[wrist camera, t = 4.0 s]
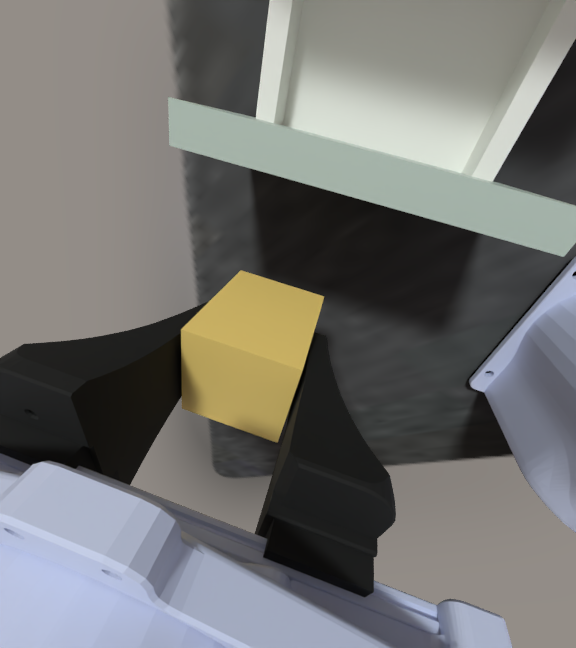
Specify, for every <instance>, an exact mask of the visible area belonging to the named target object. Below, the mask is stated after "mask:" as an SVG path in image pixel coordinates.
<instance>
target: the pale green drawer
mask: <svg viewBox="0 0 576 648" xmlns="http://www.w3.org/2000/svg"><path fill="white" fill-rule="evenodd" d="M575 39H576V0H270V3H269V11H268V19H267V28H266V36H265V45H264V53H263V61H262V70H261V78H260V86H259V95H258V103H257V112H256V118H255V117H251V116H247V115H243V114H238V113H234V112H230V111H226V110H221V109H217V108H213V107H209V106H204V105H200V104H196V103H192V102H187V101H183V100H179V99H175V98H170V97H168V109H169V144H170V146H173V147H176V148H180V149H183V150H187V151H190V152H194V153H198V154H201V155H205V156H208V157H212V158H215V159H219V160H222V161H226V162H229V163H233V164H237V165H240V166H244V167H247V168H251V169H254V170H258V171H261V172H265V173H268V174H272V175H276V176H279V177H283V178H286V179H290V180H293V181H297V182H300V183H304V184H307V185H311V186H315V187H318V188H322V189H325V190H329V191H332V192H336V193H339V194H343V195H346V196H350V197H354V198H357V199H361V200H364V201H368V202H371V203H375V204H378V205H382V206H385V207H389V208H393V209H396V210H400V211H403V212H407V213H410V214H414V215H417V216H421V217H424V218H428V219H432V220H435V221H439V222H442V223H446V224H449V225H453V226H456V227H460V228H463V229H467V230H471V231H474V232H478V233H481V234H485V235H488V236H492V237H495V238H499V239H502V240H506V241H510V242H513V243H517V244H520V245H524V246H527V247H531V248H534V249H538V250H541V251H545V252H549V253H552V254H556V255H559V256H563V257H564V256H565V255H566V253H567V252H568V251H569V250H570V249H571V247H572V246H573V245H574V244H575V243H576V206H575V205H572V204H568V203H565V202H562V201H558V200H555V199H551V198H548V197H545V196H541V195H538V194H535V193H531V192H528V191H524V190H521V189H518V188H514V187H511V186H508V185H504V184H501V183H497V182H494V181H493V180H494V178H495V176H496V175H497V173H498V171H499V169H500V168H501V166H502V164H503V163H504V161H505V159H506V157H507V156H508V154H509V152H510V150H511V149H512V147H513V145H514V144H515V142H516V140H517V138H518V137H519V135H520V133H521V132H522V130H523V128H524V126H525V125H526V123H527V121H528V120H529V118H530V116H531V114H532V113H533V111H534V109H535V108H536V106H537V104H538V102H539V101H540V99H541V97H542V96H543V94H544V92H545V90H546V89H547V87H548V85H549V83H550V82H551V80H552V78H553V77H554V75H555V73H556V71H557V70H558V68H559V66H560V65H561V63H562V61H563V59H564V58H565V56H566V54H567V53H568V51H569V49H570V47H571V46H572V44H573V42H574V41H575Z"/></svg>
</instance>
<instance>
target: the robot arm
mask: <svg viewBox="0 0 576 648" xmlns="http://www.w3.org/2000/svg"><path fill="white" fill-rule="evenodd" d="M575 271H576V257H575V258H574V259H573V260H572V261H571V262H570V263H569V264H568V266H567V267H566V268H565V269H564V270H563V271H562V272H561V274H560V275H559V276H558V277H557V278H556V279H555V281H554V282H553V283H552V284H551V285H550V286H549V288H548V289H547V290H546V291H545V292H544V293H543V295H542V296H541V297H540V298H539V299H538V300H537V302H536V303H535V304H534V305H533V306H532V307H531V308H530V310H529V311H528V312H527V313H526V314H525V315H524V317H523V318H522V319H521V320H520V321H519V322H518V324H517V325H516V326H515V327H514V328H513V329H512V331H511V332H510V333H509V334H508V335H507V336H506V337H505V339H504V340H503V341H502V342H501V343H500V344H499V346H498V347H497V348H496V349H495V350H494V351H493V353H492V354H491V355H490V356H489V357H488V358H487V360H486V361H485V362H484V363H483V364H482V365H481V367H480V368H479V369H478V370H477V371H476V372H475V373H474V375H473V376H472V377H471V378H470V380H469V384H470V386H471V387H472V388H473V389H475V390H478V391H481V392H484V393H485V396H486V398H487V400H488V402H489V404H490V406H491V408H492V410H493V413H494V415H495V417H496V419H497V421H498V423H499V425H500V428H501V430H502V432H503V434H504V436H505V438H506V440H507V442H508V445H509V447H510V449H511V451H512V453H513V455H514V457H515V459H516V462H517V464H518V466H519V468H520V470H521V472H522V473H523V475H524V477H525V479H526V480H527V482H528V483H529V485H530V486H531V488H532V489H533V490H534V491H535V493H536V494H537V495H538V497H540V499H541V500H542V501H543V502H544V503H545V505H546V506H547V507H548V508H549V509H550V510H551V511H552V512H553V513H554V514H555V515H556V516H557V517H558V518H559V519H560V520H561V521H562V522H563V523H564V524H566V525H567V526H568V527H569V528H570V529H572V530H573V531H574V532H576V276H572V275H573V273H574V272H575ZM207 303H208V302H206V303H204V304H202V305H199V306H197V307H195V308H193V309H190V310H188V311H185V312H183V313H181V314H178V315H175V316H173V317H170V318H167V319H164V320H162V321H159V322H156V323H153V324H150V325H147V326H143V327H140V328H136V329H132V330H129V331H124V332H119V333H114V334H109V335H104V336H99V337H93V338H86V339H79V340H70V341H61V342H47V343H33V344H23V345H22V346H20V347H18V348H16V349H15V350H13V351H11V352H10V353H8V354H6V355H5V356H3V357H1V358H0V648H512V644H511V641H510V637H509V634H508V630H507V627H506V623H505V620H504V619H503V618H502V617H501V616H500V615H497V614H495V613H492V612H490V611H487V610H484V609H481V608H479V607H477V606H474V605H471V604H469V603H466V602H464V601H460V600H455V599H447V600H444V601H442V602H440V603H439V604H438V605H435V604H433V603H430V602H428V601H425V600H422V599H420V598H417V597H415V596H412V595H410V594H407V593H405V592H402V591H400V590H397V589H394V588H391V587H389V586H387V585H384V584H381V583H379V582H376V581H374V565H373V564H374V562H373V561H374V559H373V557H376V556H377V538H378V537H379V536H381V535H382V534H383V533H384V532H385V531H386V530H387V529H388V528H389V527H391V526H392V524H393V523H394V521H395V516H396V512H395V500H394V494H393V489H392V484H391V479H390V475H389V474H388V472H387V471H386V470H385V468H384V467H383V466H382V464H381V463H380V462H379V460H378V459H377V458H376V456H375V455H374V454H373V452H372V451H371V450H370V448H369V447H368V445H367V444H366V442H365V441H364V439H363V437H362V436H361V434H360V432H359V430H358V429H357V427H356V425H355V423H354V422H353V420H352V418H351V416H350V414H349V412H348V410H347V408H346V406H345V404H344V401H343V399H342V397H341V394H340V392H339V389H338V386H337V383H336V380H335V377H334V374H333V370H332V366H331V362H330V358H329V352H328V345H327V338H326V336H324V335H321V334H318V333H315V332H314V333H313V337H312V340H311V344H310V347H309V350H308V354H307V357H306V361H305V364H304V368H303V371H302V374H301V377H300V380H299V382H298V385H297V388H296V391H295V394H294V397H293V400H292V403H291V407H290V412H289V417H288V422H287V427H286V431H285V435H284V439H283V442H282V446H281V449H280V452H279V456H278V459H277V462H276V466H275V469H274V472H273V476H272V479H271V482H270V485H269V489H268V492H267V495H266V499H265V502H264V505H263V508H262V512H261V515H260V518H259V522H258V525H257V528H256V531H255V534H253V533H251V532H248V531H246V530H243V529H240V528H238V527H235V526H233V525H230V524H228V523H225V522H223V521H220V520H217V519H215V518H212V517H210V516H207V515H204V514H202V513H199V512H197V511H194V510H191V509H189V508H187V507H184V506H182V505H179V504H176V503H174V502H171V501H169V500H166V499H163V498H161V497H159V496H156V495H153V494H151V493H148V492H146V491H143V490H140V489H138V488H135V487H133V486H130V484H131V482H132V480H133V478H134V476H135V474H136V473H137V471H138V469H139V467H140V465H141V463H142V461H143V460H144V458H145V456H146V454H147V453H148V451H149V449H150V447H151V445H152V443H153V442H154V440H155V438H156V437H157V435H158V433H159V432H160V430H161V428H162V427H163V425H164V423H165V422H166V420H167V418H168V416H169V415H170V413H171V412H172V410H173V409H174V407H175V405H176V404H177V402H178V401H179V399H180V398H181V396H182V373H181V329H182V328H183V327H184V326H185V325H186V324H187V323H188V322H189V321H190V320H191V319H192V318H193V317H194V316H195V315H196V314H197V313H198V312H199V311H200V310H201V309H202V308H203V307H204V306H205V305H206V304H207ZM487 371H491V372H489V373H485V372H487Z"/></svg>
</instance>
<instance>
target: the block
mask: <svg viewBox="0 0 576 648" xmlns="http://www.w3.org/2000/svg"><path fill="white" fill-rule="evenodd" d="M323 299H324V296H321V295H318V294H315V293H311V292H308V291H305V290H302V289H299V288H296V287H292V286H289V285H286V284H283V283H280V282H276V281H273V280H270V279H267V278H264V277H260V276H257V275H254V274H251V273H248V272H245V271H240V272H239V273H238V274H237V275H236V276H235V277H234V278H233V279H232V280H231V281H230V282H229V283H228V284H227V285H226V286H225V287H224V288H223V289H222V290H221V291H219V292H218V293H217V294H216V295H215V296H214V297H213V298H212V299H211V300H210V301H209V302H208V303H207V304H206V305H205V306H204V307H203V308H202V309H201V310H200V311H199V312H198V313H197V314H196V315H195V316H194V317H193V318H192V319H191V320H190V321H189V322H188V323H187V324H186V325H185V326H184V327H183V328H182V329H181V373H182V409H185V410H188V411H191V412H193V413H196V414H199V415H202V416H204V417H207V418H210V419H213V420H215V421H218V422H221V423H224V424H226V425H229V426H232V427H235V428H238V429H240V430H243V431H246V432H249V433H251V434H254V435H257V436H260V437H263V438H265V439H268V440H271V441H274V442H276V443H278V440H279V437H280V434H281V431H282V429H283V426H284V423H285V420H286V417H287V414H288V411H289V408H290V405H291V403H292V400H293V397H294V394H295V391H296V388H297V385H298V382H299V380H300V377H301V374H302V371H303V368H304V364H305V361H306V357H307V354H308V350H309V347H310V344H311V340H312V337H313V333H314V330H315V327H316V323H317V320H318V316H319V313H320V310H321V306H322V303H323Z"/></svg>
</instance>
